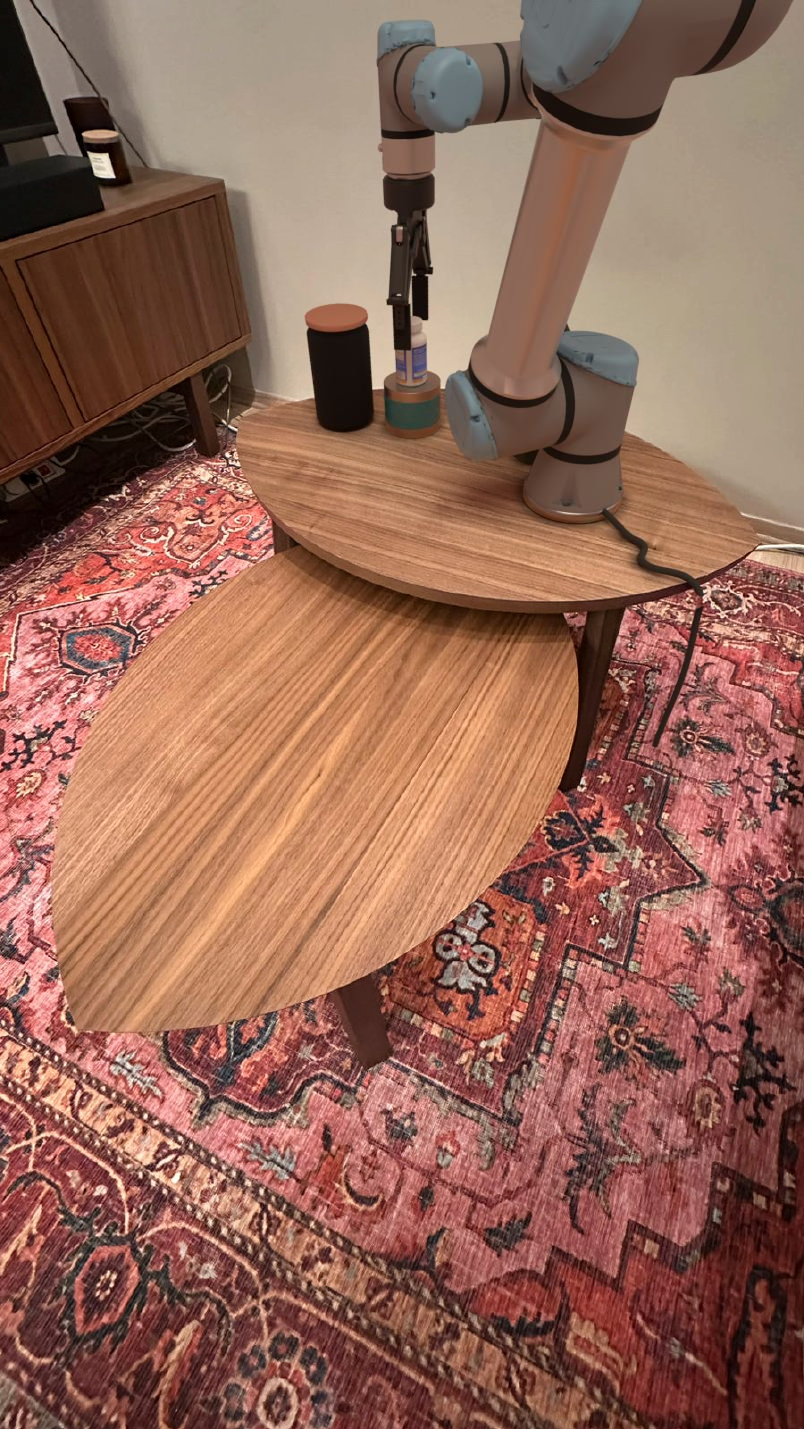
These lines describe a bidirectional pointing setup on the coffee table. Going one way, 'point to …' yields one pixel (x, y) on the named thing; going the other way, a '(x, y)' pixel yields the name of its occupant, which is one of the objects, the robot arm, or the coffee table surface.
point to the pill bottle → (413, 357)
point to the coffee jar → (340, 366)
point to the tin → (412, 407)
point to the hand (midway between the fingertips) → (411, 334)
